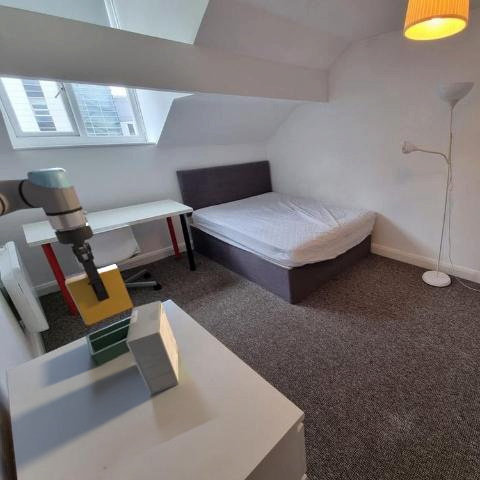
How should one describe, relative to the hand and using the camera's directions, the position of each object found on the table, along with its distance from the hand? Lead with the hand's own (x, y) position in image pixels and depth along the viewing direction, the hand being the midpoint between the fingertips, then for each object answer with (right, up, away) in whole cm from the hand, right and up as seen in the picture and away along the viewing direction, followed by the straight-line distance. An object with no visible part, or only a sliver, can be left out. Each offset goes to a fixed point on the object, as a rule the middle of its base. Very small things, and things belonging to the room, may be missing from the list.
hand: (103, 296), depth 83 cm
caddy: (-1, -18, +10) cm, 21 cm away
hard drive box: (+20, -22, -1) cm, 30 cm away
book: (0, -6, +3) cm, 7 cm away
